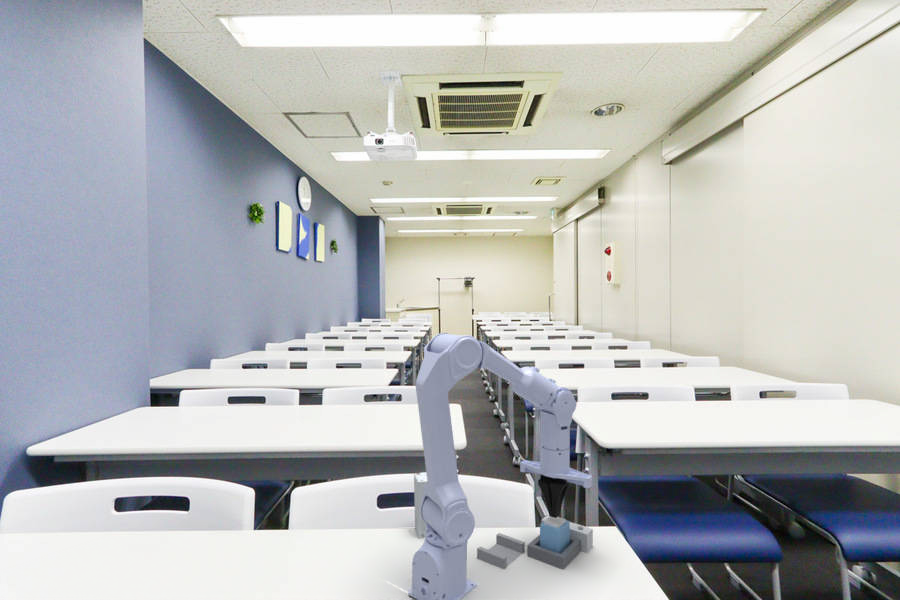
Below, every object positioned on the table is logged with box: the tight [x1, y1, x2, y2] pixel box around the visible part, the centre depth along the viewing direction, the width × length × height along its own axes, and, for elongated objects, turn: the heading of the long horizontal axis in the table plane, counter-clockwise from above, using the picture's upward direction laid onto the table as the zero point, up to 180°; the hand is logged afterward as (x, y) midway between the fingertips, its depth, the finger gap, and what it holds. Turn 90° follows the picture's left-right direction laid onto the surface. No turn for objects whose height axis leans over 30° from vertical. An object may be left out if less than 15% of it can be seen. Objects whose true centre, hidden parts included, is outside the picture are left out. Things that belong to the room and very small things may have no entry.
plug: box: [539, 516, 571, 554], centre depth 91 cm, size 5×4×6 cm
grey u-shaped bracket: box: [476, 532, 526, 570], centre depth 90 cm, size 8×6×2 cm
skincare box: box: [413, 471, 428, 539], centre depth 99 cm, size 6×4×12 cm
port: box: [526, 514, 594, 571], centre depth 92 cm, size 12×10×4 cm
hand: (554, 515), depth 91 cm, fingers closed
